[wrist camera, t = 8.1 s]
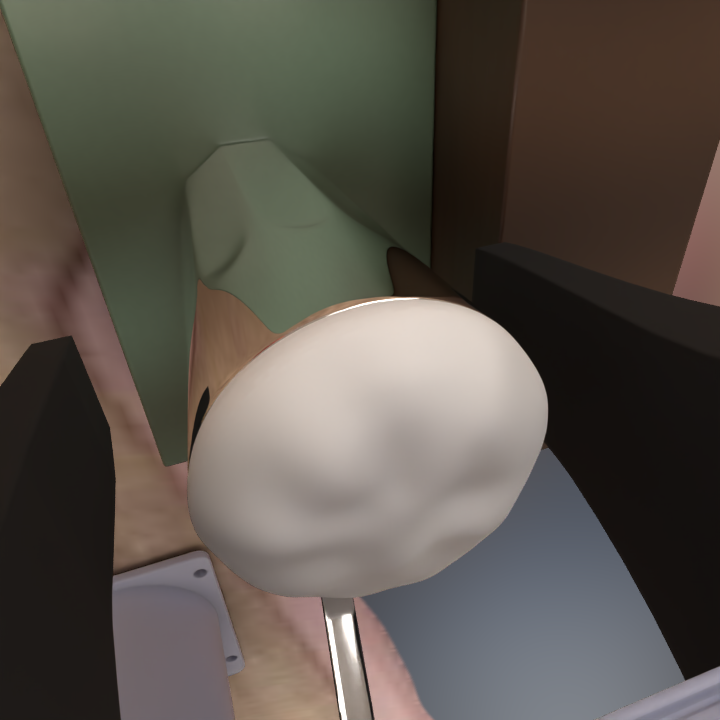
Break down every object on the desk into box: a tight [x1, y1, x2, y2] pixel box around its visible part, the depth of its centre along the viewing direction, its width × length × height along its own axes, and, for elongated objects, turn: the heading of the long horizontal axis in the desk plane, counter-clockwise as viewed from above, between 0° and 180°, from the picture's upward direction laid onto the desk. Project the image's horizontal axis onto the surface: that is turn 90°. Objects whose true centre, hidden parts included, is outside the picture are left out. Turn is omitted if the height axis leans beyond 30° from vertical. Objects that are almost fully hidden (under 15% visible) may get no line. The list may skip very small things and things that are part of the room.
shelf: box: [0, 0, 720, 466], centre depth 15 cm, size 13×13×7 cm
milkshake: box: [179, 140, 548, 720], centre depth 10 cm, size 5×5×10 cm
